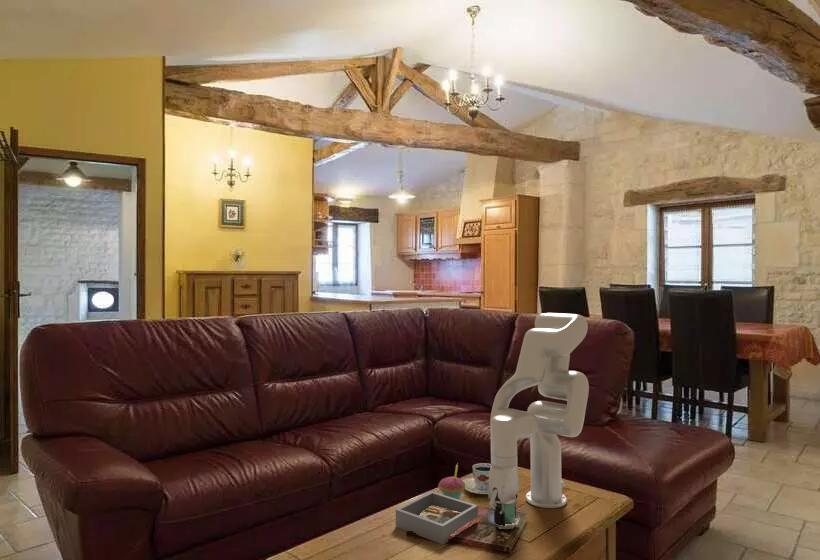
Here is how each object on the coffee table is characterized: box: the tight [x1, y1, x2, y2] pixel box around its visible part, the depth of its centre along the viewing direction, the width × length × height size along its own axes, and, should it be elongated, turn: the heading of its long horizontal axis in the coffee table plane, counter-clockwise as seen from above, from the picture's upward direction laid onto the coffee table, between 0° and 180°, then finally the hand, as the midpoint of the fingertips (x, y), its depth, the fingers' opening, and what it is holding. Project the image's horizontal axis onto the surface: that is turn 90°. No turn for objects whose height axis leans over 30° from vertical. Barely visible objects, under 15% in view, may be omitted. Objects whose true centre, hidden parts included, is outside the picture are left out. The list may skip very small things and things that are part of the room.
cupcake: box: [437, 462, 466, 500], centre depth 181 cm, size 9×8×12 cm
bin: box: [395, 491, 479, 546], centre depth 164 cm, size 17×17×5 cm
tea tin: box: [497, 497, 516, 524], centre depth 162 cm, size 6×6×8 cm
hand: (505, 521), depth 162 cm, fingers closed on tea tin, 5 cm apart
